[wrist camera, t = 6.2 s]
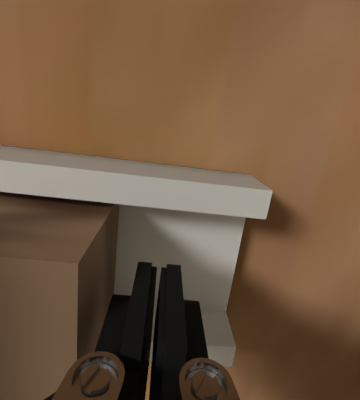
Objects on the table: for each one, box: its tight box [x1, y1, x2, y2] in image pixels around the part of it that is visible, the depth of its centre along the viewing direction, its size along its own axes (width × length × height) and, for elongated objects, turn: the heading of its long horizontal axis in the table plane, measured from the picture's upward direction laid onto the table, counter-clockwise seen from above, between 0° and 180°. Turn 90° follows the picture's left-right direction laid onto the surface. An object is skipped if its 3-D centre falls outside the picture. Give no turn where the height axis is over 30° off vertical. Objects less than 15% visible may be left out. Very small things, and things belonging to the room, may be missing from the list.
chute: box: [0, 145, 273, 367], centre depth 12 cm, size 20×9×3 cm, turn 83°
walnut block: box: [0, 192, 119, 400], centre depth 10 cm, size 6×6×6 cm
